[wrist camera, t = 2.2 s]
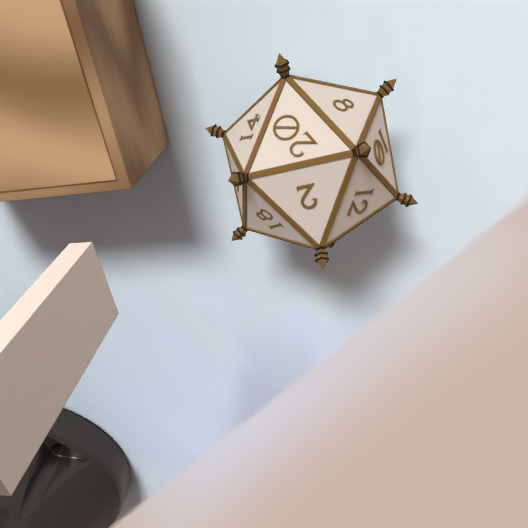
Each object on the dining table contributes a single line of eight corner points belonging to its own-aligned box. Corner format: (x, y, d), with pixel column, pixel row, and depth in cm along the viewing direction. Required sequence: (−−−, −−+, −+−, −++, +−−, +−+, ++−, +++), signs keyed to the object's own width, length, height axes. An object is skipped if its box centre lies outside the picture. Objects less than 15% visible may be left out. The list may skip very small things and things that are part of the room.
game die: (278, 121, 29) (130, 135, 22) (395, 20, 23) (243, -7, 16) (345, 261, 28) (215, 320, 21) (484, 194, 22) (367, 246, 15)
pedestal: (168, 143, 26) (130, 189, 21) (-18, 164, 28) (-94, 211, 23) (105, -113, 21) (32, -135, 16) (-122, -66, 23) (-253, -72, 18)
